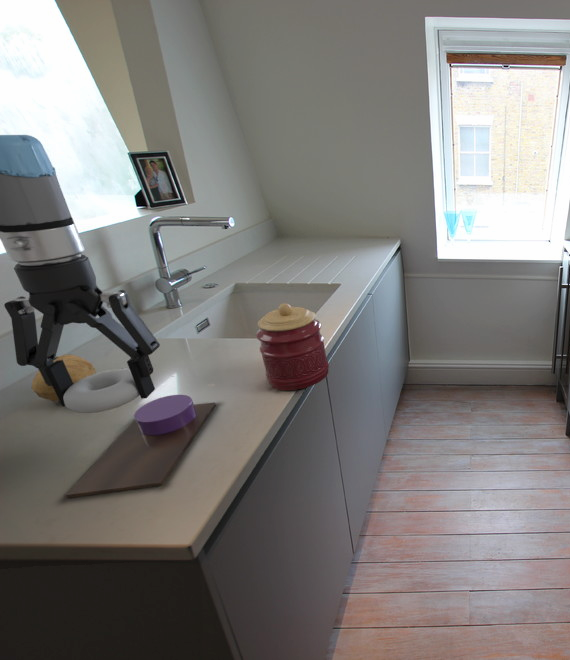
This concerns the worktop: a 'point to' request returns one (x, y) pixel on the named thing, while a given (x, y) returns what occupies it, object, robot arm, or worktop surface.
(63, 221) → the robot arm
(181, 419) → the purple hockey puck
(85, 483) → the placemat
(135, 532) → the worktop surface
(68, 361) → the potato
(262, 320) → the kitchen canister
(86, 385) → the donut
